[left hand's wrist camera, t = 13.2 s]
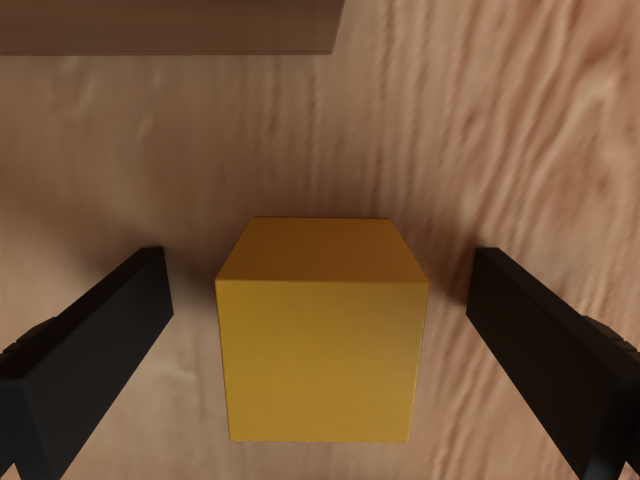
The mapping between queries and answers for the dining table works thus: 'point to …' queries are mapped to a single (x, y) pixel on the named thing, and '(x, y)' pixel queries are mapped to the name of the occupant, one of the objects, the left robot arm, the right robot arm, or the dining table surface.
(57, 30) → the chest
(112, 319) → the left robot arm
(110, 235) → the dining table surface
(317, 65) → the dining table surface
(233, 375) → the block
